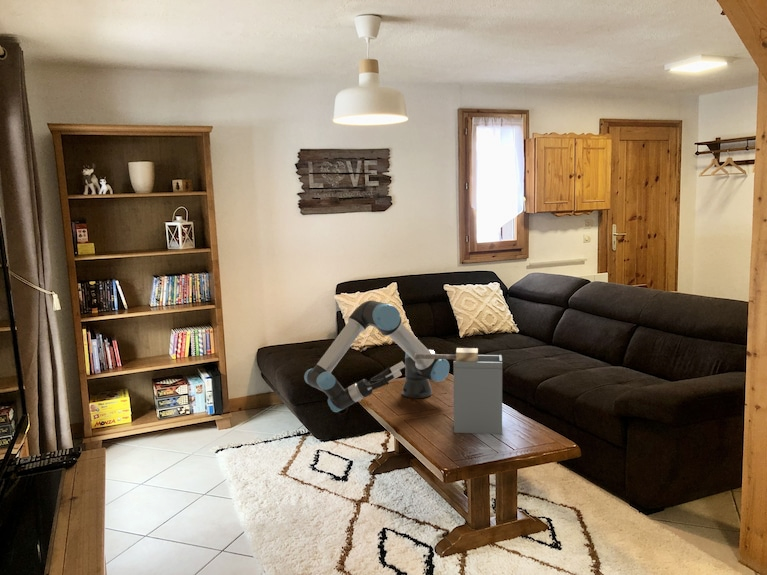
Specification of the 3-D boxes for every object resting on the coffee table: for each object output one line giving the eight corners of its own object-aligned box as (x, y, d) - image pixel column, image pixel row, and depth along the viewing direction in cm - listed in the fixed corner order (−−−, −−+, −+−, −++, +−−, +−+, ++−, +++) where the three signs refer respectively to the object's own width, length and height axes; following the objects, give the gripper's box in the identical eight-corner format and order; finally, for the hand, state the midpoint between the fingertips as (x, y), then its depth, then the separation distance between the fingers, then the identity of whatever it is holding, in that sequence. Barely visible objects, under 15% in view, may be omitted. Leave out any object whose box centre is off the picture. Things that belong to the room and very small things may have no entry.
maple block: (413, 365, 263) (413, 351, 262) (415, 360, 270) (415, 347, 270) (477, 366, 258) (477, 352, 258) (477, 361, 266) (477, 348, 265)
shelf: (453, 432, 261) (453, 361, 257) (455, 420, 275) (454, 353, 270) (502, 434, 258) (502, 362, 253) (500, 422, 271) (501, 353, 267)
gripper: (369, 389, 284) (409, 367, 280) (360, 406, 260) (403, 383, 256) (361, 375, 284) (401, 353, 280) (351, 391, 260) (394, 368, 256)
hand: (402, 367), depth 268 cm, fingers open, 13 cm apart
